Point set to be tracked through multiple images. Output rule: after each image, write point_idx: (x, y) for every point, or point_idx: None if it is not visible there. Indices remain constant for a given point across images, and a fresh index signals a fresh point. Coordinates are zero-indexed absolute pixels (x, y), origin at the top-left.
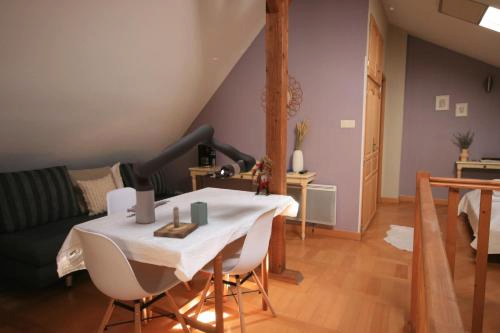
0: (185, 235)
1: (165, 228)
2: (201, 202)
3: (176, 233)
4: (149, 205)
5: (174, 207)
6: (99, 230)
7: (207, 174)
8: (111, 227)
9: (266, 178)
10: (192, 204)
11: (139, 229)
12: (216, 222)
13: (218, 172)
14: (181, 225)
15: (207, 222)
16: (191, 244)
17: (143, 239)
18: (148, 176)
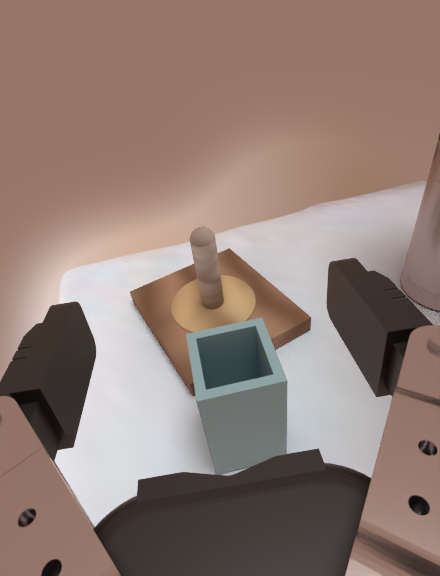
0: (139, 310)
1: (234, 277)
2: (244, 383)
3: (154, 282)
4: (422, 221)
5: (201, 227)
6: (394, 195)
7: (354, 297)
8: (412, 212)
9: None
10: (244, 324)
11: (334, 251)
12: None
13: (248, 501)
14: (215, 318)
15: (215, 470)
16: (70, 299)
17: (224, 239)
18: None
